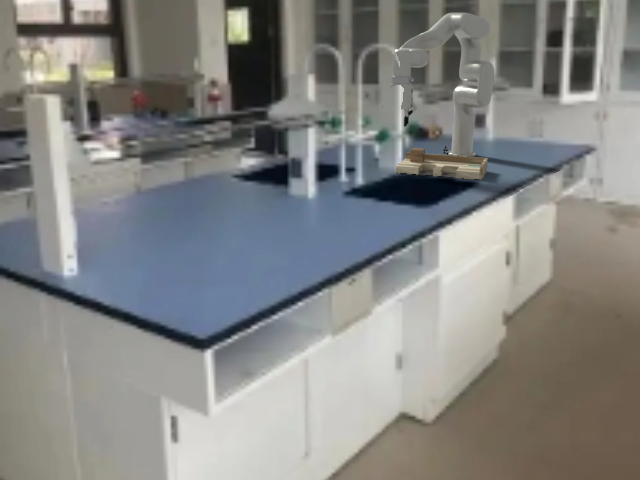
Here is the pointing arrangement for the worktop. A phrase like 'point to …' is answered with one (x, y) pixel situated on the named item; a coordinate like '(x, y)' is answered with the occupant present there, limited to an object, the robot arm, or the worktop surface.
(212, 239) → the worktop surface
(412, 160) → the walnut block
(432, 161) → the board
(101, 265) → the worktop surface
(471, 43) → the robot arm
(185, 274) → the worktop surface
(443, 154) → the molecular model
